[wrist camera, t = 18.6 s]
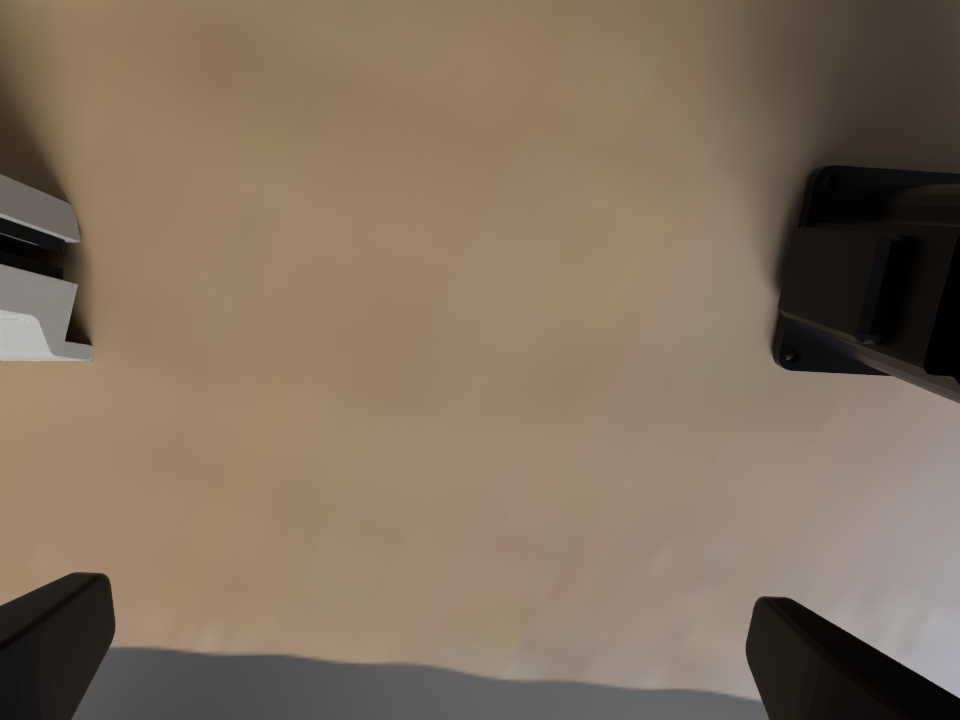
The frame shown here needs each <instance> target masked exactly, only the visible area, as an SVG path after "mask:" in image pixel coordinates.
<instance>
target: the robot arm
mask: <svg viewBox="0 0 960 720" xmlns="http://www.w3.org/2000/svg"><path fill="white" fill-rule="evenodd" d="M827 175H828V176H829V177H830V178H831V185H830V187H829V188H828V189H827V190H825V189H824V188H823V180H824V178H825V177H826V176H827ZM778 309H779V311H780V312H781V315H780V320H779V325H778V330H777V334H776V339H775V344H774V349H773V359H774V361H775V363H776V364H777V365H779V366H780V367H782V368H784V369H787V370H790V371H808V372H827V373H846V374H864V375H883V376H894V377H897V378H899V379H901V380H904V381H906V382H909V383H911V384H914V385H916V386H918V387H921V388H923V389H926V390H928V391H931V392H933V393H935V394H938V395H940V396H943V397H945V398H948V399H950V400H952V401H955V402H957V403H960V174H951V173H937V172H922V171H908V170H894V169H880V168H865V167H851V166H837V165H833V166H823V167H819V168H818V169H816V170H814V171H813V172H812V174H811V175H810V177H809V179H808V182H807V186H806V191H805V196H804V201H803V206H802V211H801V216H800V221H799V226H798V230H797V231H796V232H795V233H794V234H793V236H792V240H791V245H790V250H789V255H788V260H787V265H786V270H785V275H784V280H783V285H782V290H781V295H780V300H779V305H778ZM791 349H795V354H794V356H793V358H791V359H790V360H786V355H787V353H788V352H789V351H790V350H791ZM114 633H115V615H114V607H113V599H112V591H111V584H110V580H109V578H108V577H107V576H106V575H105V574H103V573H86V572H75V573H71V574H68V575H66V576H64V577H62V578H60V579H58V580H55V581H53V582H51V583H49V584H47V585H44V586H42V587H40V588H38V589H36V590H34V591H31V592H29V593H27V594H25V595H23V596H21V597H18V598H16V599H14V600H12V601H10V602H8V603H5V604H3V605H1V606H0V720H72V718H73V716H74V714H75V712H76V710H77V708H78V706H79V704H80V703H81V701H82V699H83V697H84V695H85V693H86V691H87V689H88V687H89V685H90V683H91V682H92V679H93V678H94V676H95V674H96V672H97V670H98V668H99V666H100V664H101V662H102V660H103V659H104V657H105V655H106V653H107V651H108V649H109V647H110V645H111V643H112V640H113V637H114ZM746 657H747V661H748V664H749V667H750V670H751V672H752V675H753V678H754V680H755V683H756V686H757V688H758V691H759V694H760V696H761V699H762V701H763V704H764V706H765V709H766V712H767V715H768V717H769V720H960V698H958V697H957V696H955V695H953V694H951V693H950V692H948V691H946V690H945V689H943V688H941V687H940V686H938V685H936V684H935V683H933V682H931V681H929V680H928V679H926V678H924V677H923V676H921V675H919V674H918V673H916V672H914V671H913V670H911V669H909V668H907V667H906V666H904V665H902V664H901V663H899V662H897V661H896V660H894V659H892V658H891V657H889V656H887V655H885V654H884V653H882V652H880V651H879V650H877V649H875V648H874V647H872V646H870V645H869V644H867V643H865V642H863V641H862V640H860V639H858V638H857V637H855V636H853V635H852V634H850V633H848V632H847V631H845V630H843V629H841V628H840V627H838V626H836V625H835V624H833V623H831V622H830V621H828V620H826V619H825V618H823V617H821V616H819V615H818V614H816V613H814V612H813V611H811V610H809V609H808V608H806V607H804V606H803V605H801V604H799V603H797V602H796V601H794V600H792V599H790V598H787V597H768V596H763V597H760V598H759V599H757V601H756V602H755V605H754V609H753V614H752V618H751V623H750V627H749V632H748V636H747V641H746Z"/></svg>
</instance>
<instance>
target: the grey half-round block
mask: <svg viewBox="0 0 960 720" xmlns="http://www.w3.org/2000/svg"><path fill="white" fill-rule="evenodd" d="M65 242H81V241H80V235H79V229H78V223H77V219H76V216H75V214H74V212H73V209H72V207H71V204H70V203H68V202H65V201H63V200H61V199H58V198H56V197H54V196H51V195H49V194H47V193H44V192H42V191H40V190H37V189H35V188H32V187H30V186H28V185H25V184H23V183H21V182H18V181H16V180H14V179H11V178H9V177H7V176H4V175H2V174H0V361H92V359H93V346H92V345H86V344H80V343H73V342H67V341H65V338H66V333H67V329H68V325H69V321H70V317H71V313H72V308H73V304H74V300H75V296H76V292H77V288H78V284H76V283H72V282H68V281H64V280H63V268H60V267H56V266H53V265H49V264H46V263H42V262H39V261H35V260H32V259H28V258H25V257H21V256H18V255H14V254H11V253H57V254H64V243H65Z"/></svg>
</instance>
